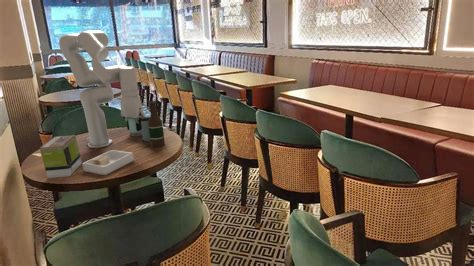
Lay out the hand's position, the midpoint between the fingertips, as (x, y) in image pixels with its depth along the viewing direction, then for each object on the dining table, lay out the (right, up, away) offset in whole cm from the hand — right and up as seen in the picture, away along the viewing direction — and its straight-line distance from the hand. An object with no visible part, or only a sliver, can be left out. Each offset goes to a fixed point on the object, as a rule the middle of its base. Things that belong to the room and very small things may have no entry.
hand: (134, 129), depth 162 cm
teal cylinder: (0, -1, 0) cm, 1 cm away
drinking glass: (+1, -5, +27) cm, 28 cm away
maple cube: (-11, -18, -12) cm, 24 cm away
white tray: (-9, -17, -8) cm, 21 cm away
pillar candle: (-10, -3, +38) cm, 39 cm away
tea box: (-28, -19, -11) cm, 36 cm away
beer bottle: (+8, -8, +17) cm, 20 cm away
